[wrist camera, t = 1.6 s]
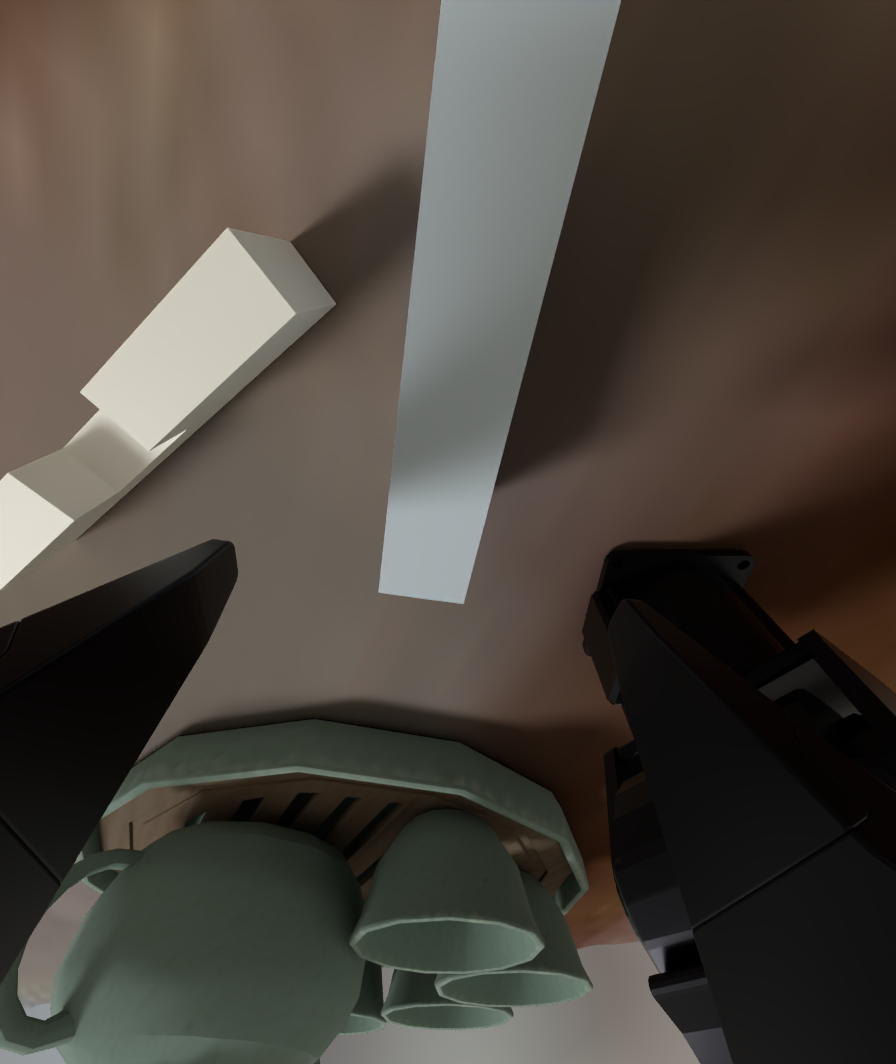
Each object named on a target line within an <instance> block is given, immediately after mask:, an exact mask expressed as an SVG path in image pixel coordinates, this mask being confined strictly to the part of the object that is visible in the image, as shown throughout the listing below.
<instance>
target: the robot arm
mask: <svg viewBox="0 0 896 1064" xmlns="http://www.w3.org/2000/svg"><path fill="white" fill-rule="evenodd" d="M618 560H621V561H620V562H619V563H617V564H614V562H616V561H618ZM740 562H741V563H740ZM755 563H756V560H755V558H754V557H753V556H752V555H751V554H749V553H748V552H747V551H704V550H617V551H613V552H611V553H609V554H608V555H607V556H606V557H605V559H604V563H603V567H602V571H601V575H600V579H599V583H598V586H597V590H596V591H595V592H594V593H593V594H592V595H591V598H590V602H589V606H588V610H587V614H586V618H585V622H584V626H583V630H582V633H583V635H584V641H583V649H584V652H585V653H586V655H588V656H591V657H592V660H593V662H594V665H595V668H596V670H597V673H598V676H599V679H600V681H601V684H602V687H603V689H604V692H605V695H606V697H607V700H608V701H609V702H610V703H611V704H612V705H621V706H622V709H623V711H624V714H625V716H626V719H627V721H628V724H629V726H630V729H631V731H632V734H633V737H634V739H633V740H632V741H630V742H628V743H626V744H625V745H623V746H621V747H620V748H617V747H614V748H613V749H611V750H609V751H608V752H606V753H605V754H604V764H605V778H606V792H607V806H608V819H609V833H610V847H611V861H612V868H613V874H614V879H615V883H616V888H617V892H618V895H619V897H620V900H621V902H622V905H623V908H624V910H625V913H626V915H627V918H628V920H629V922H630V924H631V925H632V927H633V929H634V931H635V933H636V935H637V937H638V939H639V940H640V942H641V943H642V945H643V946H644V948H645V950H646V951H647V953H648V954H649V956H650V958H651V959H652V961H653V963H654V965H655V966H656V968H657V970H658V972H659V974H655V975H652V976H649V979H648V982H649V987H650V991H651V993H652V995H653V997H654V998H655V999H656V1001H657V1002H658V1003H659V1004H660V1006H661V1007H662V1008H663V1010H664V1011H665V1012H666V1013H667V1015H668V1016H669V1017H670V1018H671V1020H672V1021H673V1022H674V1024H675V1025H676V1026H677V1027H678V1029H679V1030H680V1031H681V1032H682V1034H683V1035H684V1037H685V1039H686V1040H687V1042H688V1044H689V1045H690V1047H691V1048H692V1050H693V1052H694V1053H695V1055H696V1057H697V1058H698V1060H699V1062H700V1063H701V1064H896V694H895V693H894V692H893V691H892V690H891V689H890V688H889V687H887V686H886V685H885V684H884V683H883V682H881V681H880V680H879V679H877V678H876V677H875V676H874V675H872V674H871V673H870V672H868V671H867V670H866V669H864V668H863V667H862V666H861V665H859V664H858V663H857V662H855V661H854V660H853V659H851V658H850V657H849V656H847V655H846V654H845V653H844V652H842V651H841V650H840V649H838V648H837V647H836V646H834V645H833V644H832V643H831V642H829V641H828V640H827V639H825V638H824V637H823V636H821V635H820V634H819V633H817V632H816V631H815V630H812V631H810V632H808V633H807V634H805V635H803V636H801V637H800V638H798V639H797V640H798V641H799V642H798V643H796V644H795V643H794V642H793V641H792V640H791V639H790V638H789V637H788V636H787V635H786V634H785V633H784V631H783V630H782V629H781V628H780V627H779V626H778V625H777V624H776V623H775V622H774V621H773V620H772V619H771V618H770V617H769V615H768V614H767V613H766V612H765V611H764V610H763V609H762V608H761V607H760V606H759V605H758V604H757V603H756V602H755V601H754V600H753V598H752V597H751V596H750V595H749V594H748V593H747V592H746V591H745V590H744V589H743V587H744V585H745V584H746V582H747V580H748V578H749V576H750V574H751V572H752V570H753V568H754V566H755ZM237 577H238V568H237V560H236V553H235V547H234V545H233V543H232V542H230V541H223V540H217V539H212V540H209V541H207V542H204V543H202V544H199V545H197V546H195V547H192V548H190V549H187V550H185V551H183V552H180V553H178V554H176V555H173V556H171V557H168V558H166V559H164V560H161V561H159V562H156V563H154V564H152V565H149V566H147V567H144V568H142V569H140V570H137V571H135V572H133V573H130V574H128V575H125V576H123V577H121V578H118V579H116V580H113V581H111V582H109V583H106V584H104V585H101V586H99V587H97V588H94V589H92V590H89V591H87V592H85V593H82V594H80V595H78V596H75V597H73V598H70V599H68V600H66V601H63V602H61V603H58V604H56V605H54V606H51V607H49V608H46V609H44V610H42V611H39V612H37V613H35V614H32V615H30V616H27V617H25V618H23V619H22V620H21V622H19V621H15V622H13V623H10V624H8V625H6V626H3V627H1V628H0V985H1V983H2V982H3V980H4V978H5V977H6V975H7V973H8V972H9V970H10V968H11V967H12V965H13V964H14V962H15V960H16V959H17V957H18V955H19V954H20V952H21V950H22V949H23V947H24V945H25V944H26V942H27V940H28V939H29V937H30V936H31V934H32V932H33V931H34V929H35V927H36V926H37V924H38V922H39V921H40V919H41V917H42V916H43V914H44V912H45V911H46V909H47V908H48V906H49V904H50V903H51V901H52V899H53V898H54V896H55V894H56V893H57V891H58V889H59V888H60V886H61V884H60V882H62V881H63V880H64V879H65V877H66V876H67V874H68V872H69V871H70V869H71V867H72V866H73V864H74V862H75V861H76V859H77V857H78V856H79V854H80V853H81V851H82V849H83V848H84V846H85V844H86V843H87V841H88V839H89V838H90V836H91V834H92V833H93V831H94V829H95V828H96V826H97V825H98V823H99V821H100V820H101V818H102V816H103V815H104V813H105V811H106V810H107V808H108V806H109V805H110V803H111V801H112V800H113V798H114V797H115V795H116V793H117V792H118V790H119V788H120V787H121V785H122V783H123V782H124V780H125V778H126V777H127V775H128V773H129V772H130V770H131V769H132V767H133V765H134V764H135V762H136V760H137V759H138V757H139V755H140V754H141V752H142V750H143V749H144V747H145V745H146V744H147V742H148V741H149V739H150V737H151V736H152V734H153V732H154V731H155V729H156V727H157V726H158V724H159V722H160V721H161V719H162V717H163V716H164V714H165V713H166V711H167V709H168V708H169V706H170V704H171V703H172V701H173V699H174V698H175V696H176V694H177V693H178V691H179V689H180V688H181V686H182V685H183V683H184V681H185V680H186V678H187V676H188V675H189V673H190V671H191V670H192V668H193V666H194V665H195V663H196V661H197V660H198V658H199V656H200V655H201V653H202V652H203V650H204V648H205V646H206V645H207V643H208V641H209V639H210V637H211V635H212V633H213V631H214V629H215V627H216V625H217V622H218V620H219V618H220V616H221V614H222V612H223V609H224V607H225V605H226V603H227V601H228V598H229V596H230V594H231V592H232V590H233V587H234V585H235V583H236V581H237Z"/></svg>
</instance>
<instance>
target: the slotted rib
mask: <svg viewBox="0 0 896 1064" xmlns="http://www.w3.org/2000/svg"><path fill="white" fill-rule="evenodd" d="M335 305H336V303H335V301H334V300H333V299H332V297H331V296H330V295H329V293H328V292H327V291H326V289H325V288H324V287H323V285H322V284H321V283H320V281H319V280H318V278H317V277H316V276H315V274H314V273H313V272H312V270H311V269H310V268H309V266H308V265H307V264H306V262H305V261H304V260H303V258H302V257H301V256H300V254H299V253H298V252H297V250H296V249H295V247H294V246H293V245H292V243H291V242H290V241H286V240H281V239H277V238H272V237H268V236H263V235H259V234H254V233H250V232H245V231H241V230H236V229H232V228H227V229H226V230H225V231H224V232H223V233H222V234H221V235H220V236H219V237H218V239H217V240H216V241H215V242H214V243H213V244H212V245H211V246H210V248H209V249H208V250H207V251H206V252H205V253H204V254H203V255H202V256H201V258H200V259H199V260H198V261H197V262H196V263H195V264H194V265H193V266H192V268H191V269H190V270H189V271H188V272H187V273H186V274H185V275H184V277H183V278H182V279H181V280H180V281H179V282H178V283H177V284H176V285H175V287H174V288H173V289H172V290H171V291H170V292H169V293H168V294H167V295H166V297H165V298H164V299H163V300H162V301H161V302H160V303H159V304H158V306H157V307H156V308H155V309H154V310H153V311H152V312H151V313H150V314H149V316H148V317H147V318H146V319H145V320H144V321H143V322H142V323H141V325H140V326H139V327H138V328H137V329H136V330H135V331H134V332H133V333H132V335H131V336H130V337H129V338H128V339H127V340H126V341H125V342H124V343H123V345H122V346H121V347H120V348H119V349H118V350H117V351H116V352H115V354H114V355H113V356H112V357H111V358H110V359H109V360H108V361H107V362H106V364H105V365H104V366H103V367H102V368H101V369H100V370H99V371H98V372H97V374H96V375H95V376H94V377H93V378H92V379H91V380H90V381H89V383H88V384H87V385H86V386H85V387H84V388H83V389H82V390H81V391H80V393H81V394H83V395H84V396H85V397H86V398H87V399H88V400H90V401H91V402H92V403H93V404H94V405H95V406H96V407H98V408H99V409H100V410H99V411H98V412H97V413H96V414H95V415H94V416H93V417H92V418H91V419H90V420H89V421H88V422H87V424H86V425H85V426H84V427H83V428H82V429H81V430H80V431H79V432H78V433H77V434H76V435H75V436H74V437H73V438H72V439H71V440H70V442H69V443H68V444H67V445H66V446H65V447H64V448H63V449H60V450H58V451H56V452H53V453H51V454H49V455H47V456H44V457H42V458H40V459H38V460H35V461H33V462H31V463H29V464H26V465H24V466H22V467H20V468H17V469H15V470H13V471H10V472H8V473H7V474H6V475H5V476H4V477H3V478H2V480H1V481H0V593H1V592H2V591H4V590H5V589H7V588H8V587H10V586H11V585H12V584H14V583H15V582H17V581H18V580H20V579H21V578H22V577H24V576H25V575H27V574H28V573H30V572H31V571H32V570H34V569H35V568H37V567H38V566H40V565H41V564H42V563H44V562H45V561H47V560H48V559H49V558H51V557H52V556H54V555H55V554H57V553H58V552H59V551H61V550H62V549H64V548H65V547H67V546H68V545H69V544H71V543H72V542H74V541H75V540H76V539H77V538H78V537H79V536H81V535H82V534H83V533H84V532H85V531H86V530H87V529H88V528H89V527H91V526H92V525H93V524H94V523H95V522H96V521H97V520H98V519H99V518H101V517H102V516H103V515H104V514H105V513H106V512H107V511H108V510H109V509H110V508H112V507H113V506H114V505H115V504H116V503H117V502H118V501H119V500H120V499H122V498H123V497H124V496H125V495H126V494H127V493H128V492H129V491H130V490H131V489H133V488H134V487H135V486H136V485H137V484H138V483H139V482H140V481H141V480H143V479H144V478H145V477H146V476H147V475H148V474H149V473H150V472H151V471H153V470H154V469H155V468H156V467H157V466H158V465H159V464H160V463H161V462H162V461H164V460H165V459H166V458H167V457H168V456H169V455H170V454H171V453H172V452H174V451H175V450H176V449H177V448H178V447H179V446H180V445H181V444H182V443H183V442H185V441H186V440H187V439H188V438H189V437H190V436H191V435H192V434H193V433H195V432H196V431H197V430H198V429H199V428H200V427H201V426H202V425H203V424H204V423H206V422H207V421H208V420H209V419H210V418H211V417H212V416H213V415H214V414H216V413H217V412H218V411H219V410H220V409H221V408H222V407H223V406H224V405H226V404H227V403H228V402H229V401H230V400H231V399H232V398H233V397H234V396H235V395H237V394H238V393H239V392H240V391H241V390H242V389H243V388H244V387H245V386H247V385H248V384H249V383H250V382H251V381H252V380H253V379H254V378H255V377H256V376H258V375H259V374H260V373H261V372H262V371H263V370H264V369H265V368H266V367H268V366H269V365H270V364H271V363H272V362H273V361H274V360H275V359H276V358H278V357H279V356H280V355H281V354H282V353H283V352H284V351H285V350H286V349H287V348H289V347H290V346H291V345H292V344H293V343H294V342H295V341H296V340H297V339H299V338H300V337H301V336H302V335H303V334H304V333H305V332H306V331H307V330H308V329H310V328H311V327H312V326H313V325H314V324H315V323H316V322H317V321H318V320H320V319H321V318H322V317H323V316H324V315H325V314H326V313H327V312H328V311H330V310H331V309H332V308H333V307H334V306H335Z"/></svg>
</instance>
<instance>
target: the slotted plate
mask: <svg viewBox="0 0 896 1064" xmlns="http://www.w3.org/2000/svg"><path fill="white" fill-rule="evenodd" d="M620 3H621V0H442V1H441V10H440V19H439V29H438V38H437V48H436V57H435V66H434V76H433V85H432V95H431V104H430V113H429V123H428V132H427V142H426V151H425V160H424V170H423V179H422V189H421V198H420V207H419V217H418V226H417V236H416V245H415V254H414V264H413V273H412V283H411V292H410V301H409V311H408V320H407V330H406V339H405V349H404V358H403V367H402V377H401V386H400V396H399V405H398V414H397V424H396V433H395V443H394V452H393V461H392V471H391V480H390V490H389V499H388V508H387V518H386V527H385V537H384V546H383V555H382V565H381V574H380V584H379V593H385V594H393V595H400V596H408V597H415V598H423V599H430V600H438V601H445V602H452V603H460V604H464V600H465V596H466V592H467V589H468V585H469V581H470V577H471V573H472V569H473V566H474V562H475V558H476V554H477V550H478V546H479V543H480V539H481V535H482V531H483V527H484V523H485V520H486V516H487V512H488V508H489V504H490V501H491V497H492V493H493V489H494V485H495V481H496V478H497V474H498V470H499V466H500V462H501V458H502V455H503V451H504V447H505V443H506V439H507V435H508V432H509V428H510V424H511V420H512V416H513V413H514V409H515V405H516V401H517V397H518V393H519V390H520V386H521V382H522V378H523V374H524V370H525V367H526V363H527V359H528V355H529V351H530V348H531V344H532V340H533V336H534V332H535V328H536V325H537V321H538V317H539V313H540V309H541V305H542V302H543V298H544V294H545V290H546V286H547V282H548V279H549V275H550V271H551V267H552V263H553V260H554V256H555V252H556V248H557V244H558V240H559V237H560V233H561V229H562V225H563V221H564V217H565V214H566V210H567V206H568V202H569V198H570V194H571V191H572V187H573V183H574V179H575V175H576V172H577V168H578V164H579V160H580V156H581V152H582V149H583V145H584V141H585V137H586V133H587V129H588V126H589V122H590V118H591V114H592V110H593V107H594V103H595V99H596V95H597V91H598V87H599V84H600V80H601V76H602V72H603V68H604V64H605V61H606V57H607V53H608V49H609V45H610V41H611V38H612V34H613V30H614V26H615V22H616V19H617V15H618V11H619V7H620Z"/></svg>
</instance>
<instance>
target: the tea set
mask: <svg viewBox="0 0 896 1064" xmlns="http://www.w3.org/2000/svg"><path fill="white" fill-rule="evenodd" d="M76 861H77V863H75V864H74V865H73V866H72V867H71V869H70V871H69V872H68V874H67V876H66V877H65V879H64V880H63V881H62V882H60V884H61V886H60V888H59V889H58V891H57V893H56V894H55V896H54V898H53V899H52V901H51V903H50V904H49V906H48V908H49V907H50V906H51V905H52V904H53V903H54V902H55V901H56V900H57V899H58V898H59V897H60V896H61V895H62V894H63V893H64V892H65V891H66V890H67V889H68V888H70V887H71V886H73V885H75V884H76V883H78V882H79V881H82V882H83V883H85V884H86V885H88V886H90V887H91V888H93V889H94V890H96V891H97V892H99V893H100V894H102V895H101V896H100V897H99V898H98V900H97V901H96V902H95V904H94V905H93V906H92V907H91V909H90V910H89V911H88V912H87V914H86V916H85V918H84V920H83V922H82V924H81V926H80V927H79V929H78V931H77V933H76V935H75V937H74V939H73V941H72V943H71V945H70V947H69V949H68V951H67V953H66V955H65V957H64V959H63V961H62V963H61V965H60V967H59V969H58V971H57V973H56V975H55V977H54V982H53V991H52V999H51V1008H50V1010H51V1017H50V1018H48V1019H47V1020H45V1021H44V1020H40V1019H36V1018H33V1017H29V1016H27V1015H26V1013H25V1011H24V1009H23V1007H22V1004H21V1002H20V1000H19V998H18V996H17V988H18V967H19V964H20V961H21V959H22V956H23V953H24V950H25V947H26V944H27V942H26V944H25V945H24V947H23V949H22V950H21V952H20V954H19V955H18V957H17V959H16V960H15V962H14V964H13V965H12V967H11V968H10V970H9V972H8V973H7V975H6V977H5V978H4V980H3V982H2V983H1V985H0V1048H1V1049H5V1050H8V1051H11V1052H14V1053H18V1054H21V1055H26V1054H30V1053H34V1052H38V1051H42V1050H46V1049H50V1048H54V1047H56V1048H57V1050H58V1051H59V1053H60V1054H61V1056H62V1058H63V1059H64V1061H65V1062H66V1064H320V1060H319V1059H320V1057H321V1055H322V1054H323V1053H324V1051H325V1050H326V1049H327V1048H328V1046H329V1045H330V1044H331V1042H332V1041H333V1040H334V1038H335V1037H336V1036H337V1035H350V1034H361V1033H370V1032H373V1031H378V1030H381V1029H384V1027H385V1025H386V1022H390V1023H393V1024H397V1025H401V1026H405V1027H412V1028H422V1029H431V1030H466V1029H479V1028H488V1027H492V1026H497V1025H501V1024H505V1023H506V1022H507V1021H509V1020H510V1019H511V1018H512V1017H513V1011H512V1009H511V1007H530V1006H542V1005H553V1004H558V1003H562V1002H566V1001H571V1000H575V999H579V998H580V997H582V996H583V995H585V994H586V993H588V992H589V991H591V990H592V989H593V985H592V983H591V981H590V979H589V977H588V975H587V974H586V972H585V970H584V968H583V966H582V964H581V961H580V958H579V955H578V952H577V949H576V947H575V944H574V941H573V938H572V935H571V933H570V930H569V927H568V924H567V921H566V918H565V917H564V915H565V914H566V913H567V912H568V911H569V910H570V908H571V907H572V906H573V905H574V904H575V903H576V902H577V901H578V900H579V899H580V898H581V897H582V896H583V894H584V893H585V892H586V891H587V890H588V889H589V885H588V881H587V876H586V872H585V867H584V863H583V859H582V857H581V854H580V852H579V850H578V847H577V845H576V842H575V840H574V838H573V835H572V833H571V830H570V828H569V825H568V823H567V821H566V818H565V816H564V813H563V811H562V809H561V807H560V805H559V804H558V802H557V800H556V799H555V797H554V795H553V794H552V792H551V791H549V790H547V789H545V788H543V787H541V786H540V785H538V784H536V783H534V782H532V781H530V780H528V779H527V778H525V777H523V776H521V775H519V774H517V773H515V772H514V771H512V770H510V769H508V768H506V767H504V766H502V765H501V764H499V763H497V762H495V761H493V760H491V759H489V758H488V757H486V756H484V755H482V754H480V753H478V752H476V751H475V750H473V749H471V748H469V747H467V746H465V745H463V744H462V743H460V742H454V741H447V740H441V739H435V738H429V737H423V736H416V735H410V734H404V733H398V732H392V731H385V730H379V729H373V728H367V727H360V726H354V725H348V724H342V723H336V722H329V721H323V720H317V719H311V720H303V721H295V722H287V723H280V724H272V725H264V726H256V727H249V728H241V729H233V730H226V731H218V732H210V733H202V734H195V735H187V736H179V737H177V738H175V739H174V740H172V741H171V742H170V743H168V744H167V745H165V746H164V747H162V748H161V749H159V750H158V751H156V752H155V753H153V754H152V755H150V756H149V757H147V758H146V759H145V760H143V761H142V762H140V763H139V764H137V765H136V766H134V767H133V768H132V769H131V770H130V772H129V773H128V775H127V777H126V778H125V780H124V782H123V783H122V785H121V787H120V788H119V790H118V792H117V793H116V795H115V797H114V798H113V800H112V801H111V803H110V805H109V806H108V808H107V810H106V811H105V813H104V815H103V816H102V818H101V820H100V821H99V823H98V825H97V826H96V828H95V829H94V831H93V833H92V834H91V836H90V838H89V839H88V841H87V843H86V844H85V846H84V848H83V849H82V851H81V853H80V854H79V856H78V857H77V859H76ZM48 908H47V909H48ZM47 909H46V910H47ZM45 912H46V911H45ZM45 912H44V913H45ZM43 915H44V914H43ZM42 917H43V916H42ZM42 917H41V918H42ZM40 920H41V919H40ZM38 923H39V922H38ZM35 928H36V927H35ZM27 941H28V940H27ZM381 966H384V967H387V968H393V969H394V973H393V977H392V981H391V985H390V989H389V993H388V996H387V999H386V1001H385V1003H384V1004H383V990H382V989H383V987H382V970H381Z"/></svg>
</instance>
